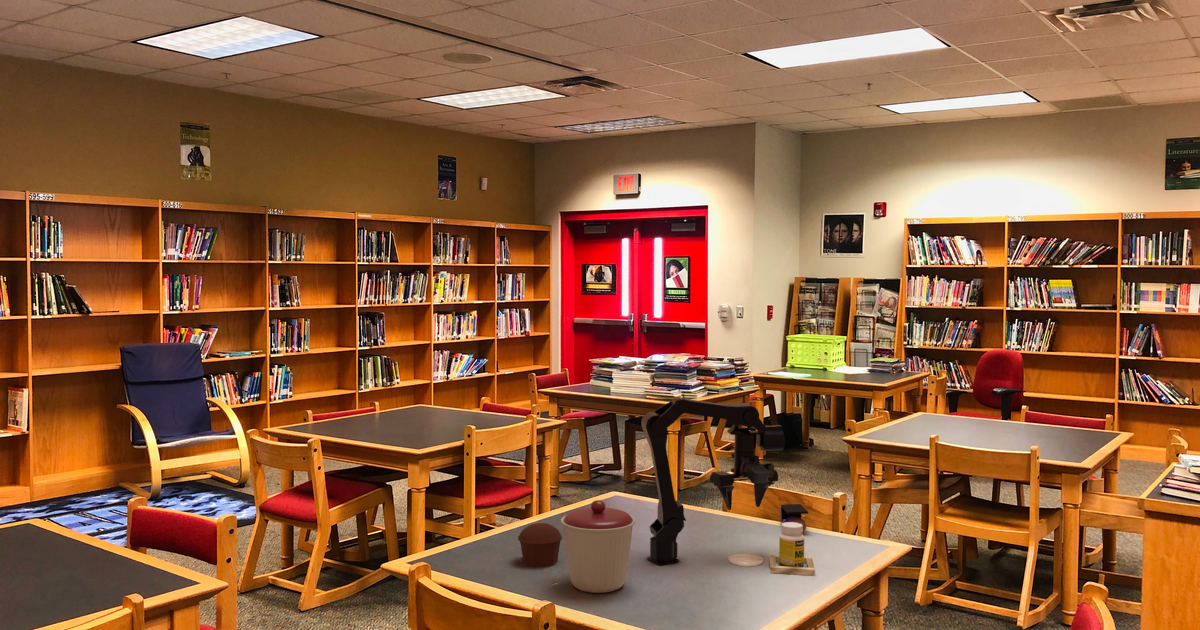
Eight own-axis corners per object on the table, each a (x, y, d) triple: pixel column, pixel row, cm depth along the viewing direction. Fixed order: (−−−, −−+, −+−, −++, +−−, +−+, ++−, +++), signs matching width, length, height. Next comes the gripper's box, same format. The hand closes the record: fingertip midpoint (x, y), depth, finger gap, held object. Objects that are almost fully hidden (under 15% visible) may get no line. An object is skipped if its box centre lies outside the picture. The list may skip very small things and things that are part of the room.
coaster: (743, 568, 235) (743, 566, 235) (721, 559, 242) (721, 557, 242) (770, 563, 239) (770, 561, 239) (748, 554, 247) (748, 552, 247)
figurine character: (777, 527, 280) (787, 535, 264) (777, 502, 280) (786, 509, 265) (799, 527, 280) (810, 535, 264) (799, 502, 280) (810, 509, 265)
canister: (593, 569, 234) (593, 488, 233) (649, 584, 222) (650, 499, 221) (545, 588, 220) (545, 501, 219) (603, 605, 208) (603, 514, 207)
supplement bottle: (797, 573, 231) (798, 529, 231) (774, 568, 235) (775, 525, 234) (808, 567, 236) (808, 523, 236) (785, 562, 240) (786, 520, 240)
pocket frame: (770, 573, 231) (770, 567, 231) (769, 560, 242) (769, 554, 242) (814, 575, 229) (814, 569, 229) (811, 562, 240) (811, 556, 240)
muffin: (556, 554, 247) (556, 517, 246) (567, 566, 236) (567, 528, 236) (513, 558, 243) (513, 521, 243) (522, 570, 233) (522, 532, 232)
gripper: (733, 458, 232) (731, 519, 233) (792, 453, 240) (790, 512, 241) (709, 450, 242) (708, 508, 243) (766, 446, 250) (765, 502, 251)
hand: (743, 508), depth 244 cm, fingers open, 9 cm apart
